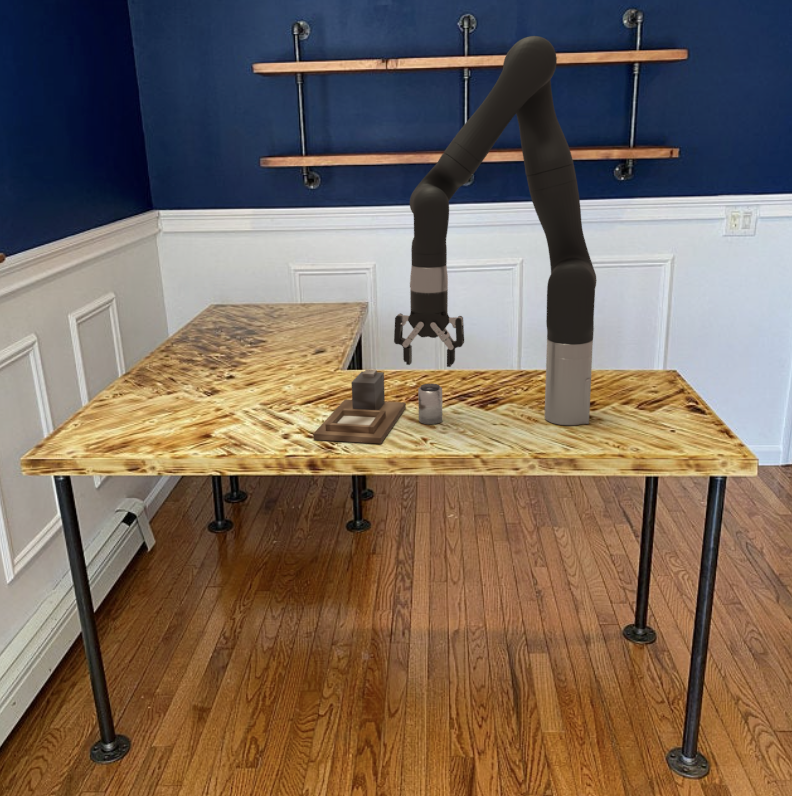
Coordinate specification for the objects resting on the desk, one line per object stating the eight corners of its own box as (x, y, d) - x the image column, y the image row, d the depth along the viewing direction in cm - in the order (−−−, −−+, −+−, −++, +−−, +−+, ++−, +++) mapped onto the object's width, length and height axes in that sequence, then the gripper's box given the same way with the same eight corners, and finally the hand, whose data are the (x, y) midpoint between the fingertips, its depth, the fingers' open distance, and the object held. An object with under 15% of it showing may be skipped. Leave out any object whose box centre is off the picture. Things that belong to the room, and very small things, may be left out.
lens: (444, 416, 177) (444, 383, 174) (440, 424, 172) (439, 390, 170) (421, 415, 178) (420, 382, 176) (416, 423, 173) (415, 389, 171)
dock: (405, 407, 183) (404, 368, 180) (381, 443, 163) (379, 400, 160) (345, 404, 186) (343, 365, 183) (313, 439, 166) (310, 396, 163)
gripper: (467, 285, 168) (465, 362, 173) (399, 283, 171) (399, 358, 177) (460, 292, 161) (459, 372, 166) (390, 289, 165) (391, 368, 170)
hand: (429, 365), depth 172 cm, fingers open, 8 cm apart
